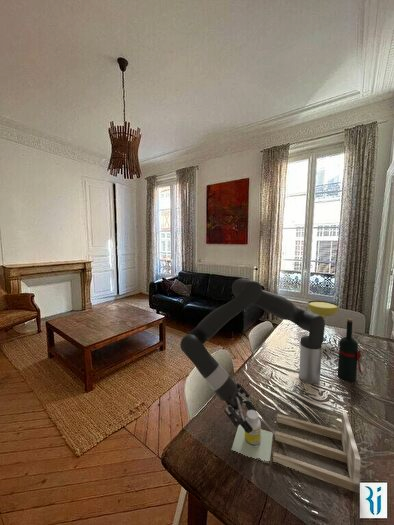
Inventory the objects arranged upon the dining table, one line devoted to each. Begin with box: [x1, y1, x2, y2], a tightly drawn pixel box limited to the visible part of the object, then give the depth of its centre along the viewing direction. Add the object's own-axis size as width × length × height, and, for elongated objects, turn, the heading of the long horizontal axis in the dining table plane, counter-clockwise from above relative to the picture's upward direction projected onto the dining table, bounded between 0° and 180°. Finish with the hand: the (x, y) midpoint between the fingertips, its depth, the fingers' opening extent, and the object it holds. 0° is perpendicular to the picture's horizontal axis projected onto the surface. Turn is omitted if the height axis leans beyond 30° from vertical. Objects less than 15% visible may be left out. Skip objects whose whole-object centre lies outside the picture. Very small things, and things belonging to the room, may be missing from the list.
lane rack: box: [273, 410, 362, 494], centre depth 73 cm, size 18×22×10 cm
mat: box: [230, 425, 274, 462], centre depth 77 cm, size 12×12×1 cm
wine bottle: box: [337, 317, 363, 383], centre depth 109 cm, size 8×10×30 cm
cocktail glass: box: [307, 300, 339, 341], centre depth 151 cm, size 18×18×25 cm
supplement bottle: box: [244, 410, 262, 447], centre depth 76 cm, size 5×5×10 cm
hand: (252, 421), depth 76 cm, fingers open, 8 cm apart
